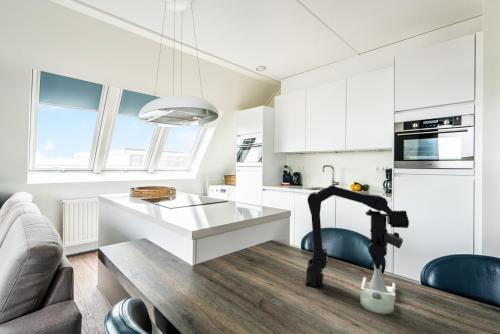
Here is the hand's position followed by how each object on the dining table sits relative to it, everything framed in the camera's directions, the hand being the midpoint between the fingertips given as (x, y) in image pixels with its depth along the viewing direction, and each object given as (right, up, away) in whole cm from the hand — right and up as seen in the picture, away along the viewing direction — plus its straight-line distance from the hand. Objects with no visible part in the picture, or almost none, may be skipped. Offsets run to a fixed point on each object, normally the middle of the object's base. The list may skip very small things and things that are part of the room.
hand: (378, 264), depth 104 cm
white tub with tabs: (-3, -11, -5) cm, 13 cm away
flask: (0, -11, 0) cm, 11 cm away
